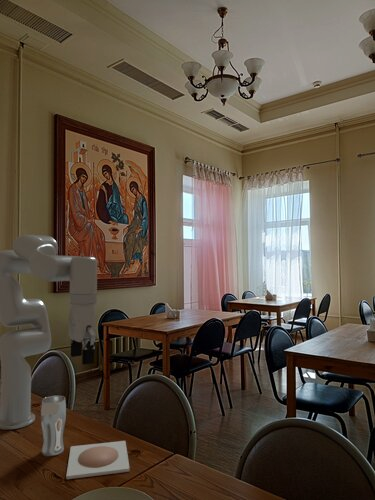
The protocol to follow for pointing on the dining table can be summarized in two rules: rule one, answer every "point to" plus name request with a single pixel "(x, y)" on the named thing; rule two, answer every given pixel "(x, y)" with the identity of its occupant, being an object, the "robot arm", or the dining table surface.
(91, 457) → the card
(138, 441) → the dining table surface
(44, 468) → the dining table surface
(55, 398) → the beer glass
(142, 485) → the dining table surface
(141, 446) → the dining table surface
